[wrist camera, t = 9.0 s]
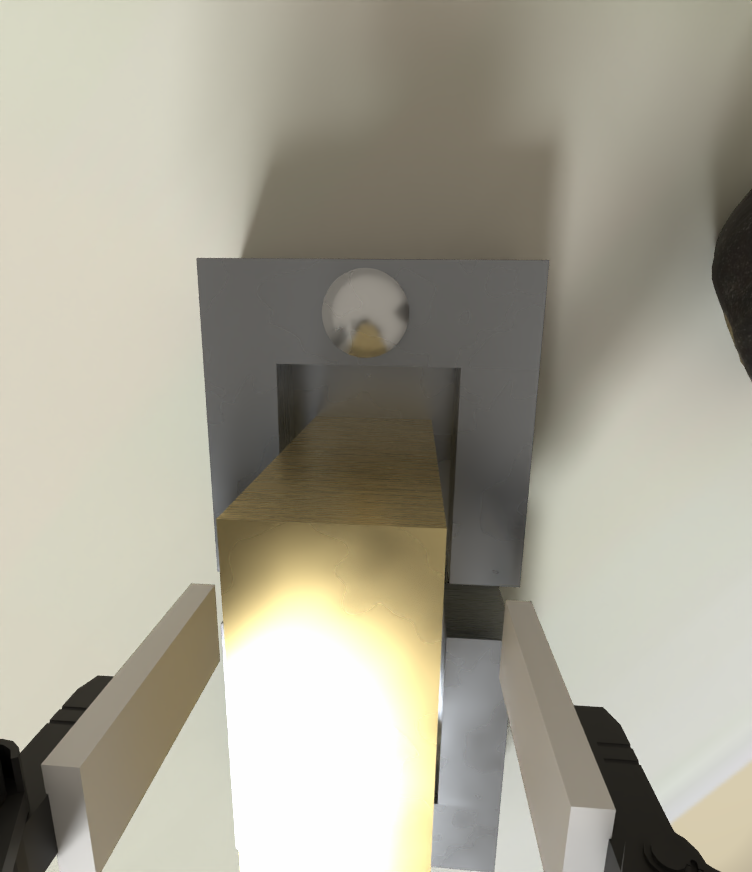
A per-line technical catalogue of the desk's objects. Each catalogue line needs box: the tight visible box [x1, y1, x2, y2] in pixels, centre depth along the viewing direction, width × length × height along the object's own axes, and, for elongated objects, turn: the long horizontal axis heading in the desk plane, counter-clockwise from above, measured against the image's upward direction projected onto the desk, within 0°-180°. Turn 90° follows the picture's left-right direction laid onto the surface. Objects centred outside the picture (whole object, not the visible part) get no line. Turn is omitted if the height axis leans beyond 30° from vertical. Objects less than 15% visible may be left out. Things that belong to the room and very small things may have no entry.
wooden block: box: [216, 417, 447, 872], centre depth 14 cm, size 4×12×9 cm, turn 0°
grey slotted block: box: [197, 258, 549, 872], centre depth 18 cm, size 10×22×4 cm, turn 179°
